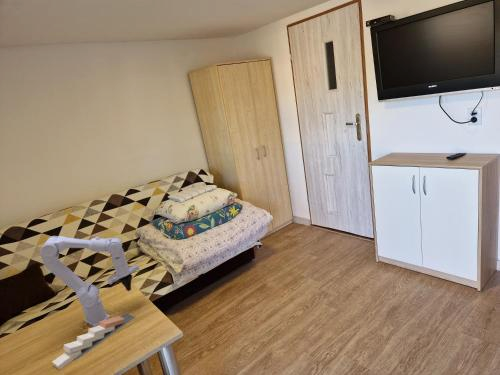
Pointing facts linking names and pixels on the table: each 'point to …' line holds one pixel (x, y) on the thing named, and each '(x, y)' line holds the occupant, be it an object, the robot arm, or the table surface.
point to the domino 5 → (111, 322)
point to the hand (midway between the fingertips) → (128, 289)
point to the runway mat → (108, 334)
